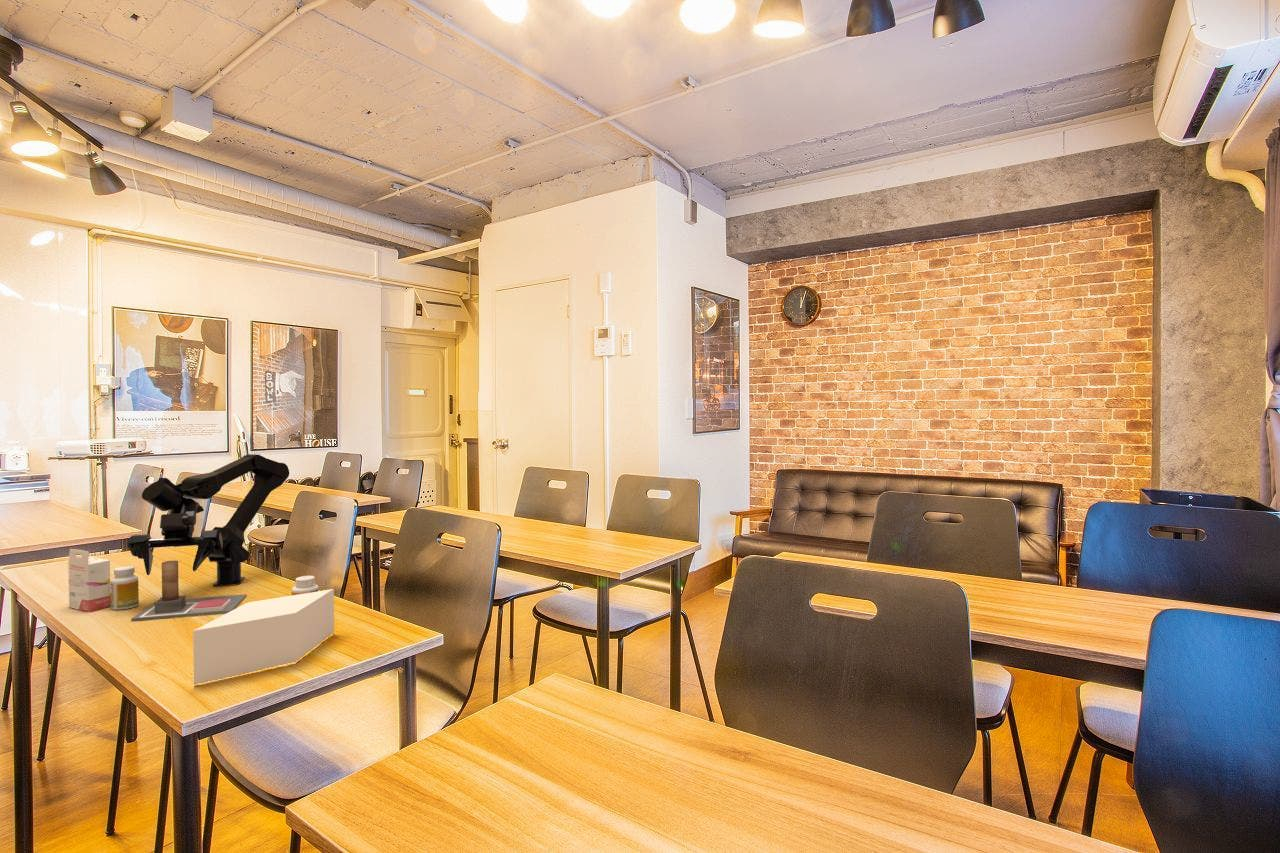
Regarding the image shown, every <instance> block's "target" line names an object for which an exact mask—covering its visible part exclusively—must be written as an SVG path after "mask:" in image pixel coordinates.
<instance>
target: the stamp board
mask: <svg viewBox="0 0 1280 853" xmlns="http://www.w3.org/2000/svg"><path fill="white" fill-rule="evenodd" d="M246 596H247V594H246V593H244V594H232V595H221V596H208V597H207V596H206V597H205V596H204V597H191V598H186V605H185V607H184V608H183V609H182V610H181V611H177V612H167V613H157V614H155V603H156V602H157V601H158V600H155V601H154V602H152V603H151V604H150V605H148V606H146V607H145V608H144V609H142V610H141V611H140V612H138V613H137V614H136V615H134V616H133V617H132V618H130V621H131V622H138V621H139V622H140V621H151V620H163V619H164V618H165V619H174V618H175V617H177V618H186V617H185V616H188V617H198V615H200V616H207V615H208V616H210V615H211V614H212V615H220V614H223V613H224V614H226V613H228V612H230V611H232V610H234V609H236V608H238V607H239V605H240V604H241V603H242V602H243V601H244V600H245V599H246V598H247V597H246ZM245 597H246V598H245ZM244 598H245V599H244ZM243 599H244V600H243ZM242 600H243V601H242ZM224 614H223V615H224ZM212 615H211V616H212Z"/></svg>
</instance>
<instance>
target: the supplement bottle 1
mask: <svg viewBox="0 0 1280 853" xmlns="http://www.w3.org/2000/svg"><path fill="white" fill-rule="evenodd" d="M135 569H136V568H135V566H134V565H133V566H132V565H130V566H120V567H116V568H114V569H113V575H114V576H115V577H112V578H110V593H111V607H110V609H111V610H112V611H121V610H123V609H124V610H130V609H132V608H133V609H134V608H136V607H137V606H139V604H140V600H139V599H140V597H139V595H140V594H139V593H140V592H139V591H140V590H139V577H138V575H136V574H135ZM129 608H130V609H129Z"/></svg>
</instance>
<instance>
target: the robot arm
mask: <svg viewBox="0 0 1280 853" xmlns="http://www.w3.org/2000/svg"><path fill="white" fill-rule="evenodd" d="M249 472H251V473H252V474H254V475H253V485H252V487H251V488H250V489H249V491H248V492H247V494H246V495H245V497H244V499H243V500H242V501H241V502H240V504H239V506H238V507H237V508H236V510H235V512H234V513H233V514H232V516H231V517H230V519H229V520H228V521H227V523H226V524H225V525H223V526H215V527H214V528H213V529H212V530H211V529H210V530H202V531H201V532H200V536H193V535H194V534H193V533H194V532H195V525H196V524H197V514H199V513H202V512H204V511H205V509H204V507H203V506H202V505H200V503H199V502H197V501H195V500H208V499H211V498H212V497H214V496H215V495H216V494H218V493H219V492H220V491H221V490H222V488H223V487H224V486H225V485H227V484H228V483H230V482H232V481H234V480H237V479H238V478H240V477H242V476H244V475H247V474H248V473H249ZM289 476H290V469H289V466H288V465H287V464H286V463H285V462H278V461H275V460H273V459H269V458H267V457H265V456H262V455H260V454H255V453H254V454H252V453H250V454H244V455H243V456H242V457H240V458H238V459H236V460H233V461H232V462H230V463H228V464H225V465H224V466H221V467H220V468H217V469H215V470H212V471H210V472H206V473H200V474H195V475H190V476H188V477H185V478H184V479H183V480H182V481H181V482H180V483H178V484H174V483H173V482H172V481H171V480H170V479H169V478H167V477H159V478H158V480H157V481H155V482H152V483H151V484H149V485H148V486H147V487H144V489H143V491H142V492H141V493H142V494H141V499H142V500H143V501H145V502H147V503H148V504H150V505H151V506H153V507H155V508H156V509H158V510H159V511H161V512H168V511H169V513H166V514H161V515H160V521H159V522H160V523H159V529H161V532H160V535H161V536H163V538H153V539H152V537H151V534H150V533H149V534H147V533H146V534H133V535H131V536H130V537H129V538H128V540H127V546H128V548H129V551H130V554H131V555H132V557H137V558H138V559H141V560H143V563H144V564H143V565H144V569H145V573H146V575H147V576H149V575H150V574H151V572H152V568H153V562H154V561H153V560H154V554H153V553H154V548H155V549H156V548H157V549H158V548H168V547H169V548H171V547H174V548H178V547H179V548H180V547H191V546H192V547H194V546H197V550H196V553H195V557H194V560H193V565H192V572H196V571H197V570H198V568H199V567H200V566H201V565H202V563H203V562H204V561H205V560H206V559H207V558H208V561H209V562H211V563H216V581H215V582H214V583H212V587H219V586H220V587H221V586H235V585H240V584H241V583H242V582H243V581H245V580H246V577H245V576H242V563H244V562H246V561H248V560H249V556H250V555H251V554H250V551H248V549H246V548H245V546H243V545H244V543H245V531H246V530H247V529H248V527H249V525H251V523H252V521H253V519H254V518H255V517H256V515H257V513H258V512H259V510H260V509H261V507H262V506H263V504H264V503H265V501H266V500H267V498H268V497H269V495H270V493H272V491H275V490H276V489H278V488H280V486H282V485H283V484H284V483H285V481H286V480H287V479H288V478H289ZM194 499H195V500H194Z"/></svg>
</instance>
